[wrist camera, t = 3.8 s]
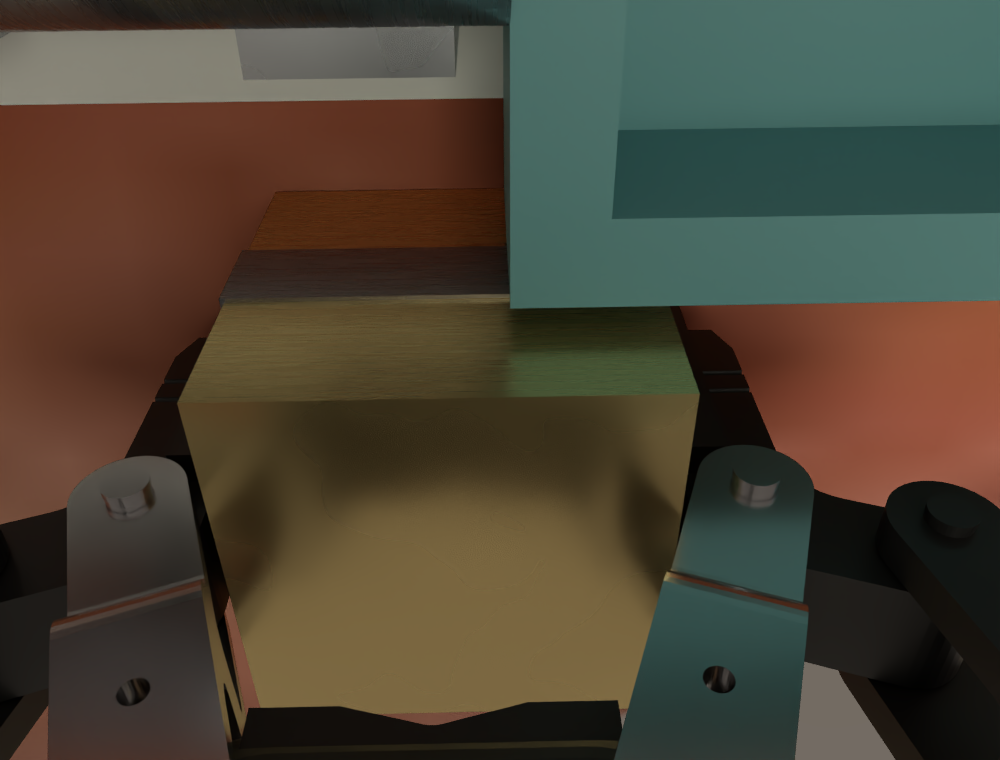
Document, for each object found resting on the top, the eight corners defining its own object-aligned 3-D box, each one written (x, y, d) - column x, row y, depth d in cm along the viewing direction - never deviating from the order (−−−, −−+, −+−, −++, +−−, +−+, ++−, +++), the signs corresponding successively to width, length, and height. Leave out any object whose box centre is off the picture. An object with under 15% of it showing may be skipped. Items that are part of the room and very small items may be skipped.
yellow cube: (271, 188, 12) (170, 399, 8) (631, 183, 13) (705, 389, 8) (317, 463, 15) (259, 718, 11) (609, 458, 15) (656, 710, 11)
